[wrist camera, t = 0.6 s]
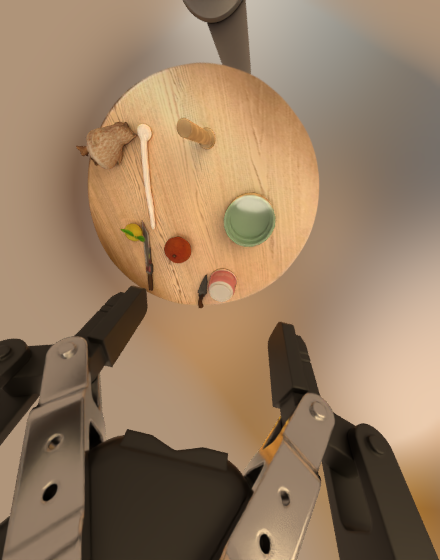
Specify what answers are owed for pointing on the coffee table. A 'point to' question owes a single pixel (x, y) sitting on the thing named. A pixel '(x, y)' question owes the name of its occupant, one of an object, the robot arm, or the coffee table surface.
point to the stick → (196, 133)
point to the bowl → (249, 219)
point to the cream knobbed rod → (146, 167)
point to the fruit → (177, 249)
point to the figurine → (107, 144)
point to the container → (222, 285)
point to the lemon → (133, 232)
